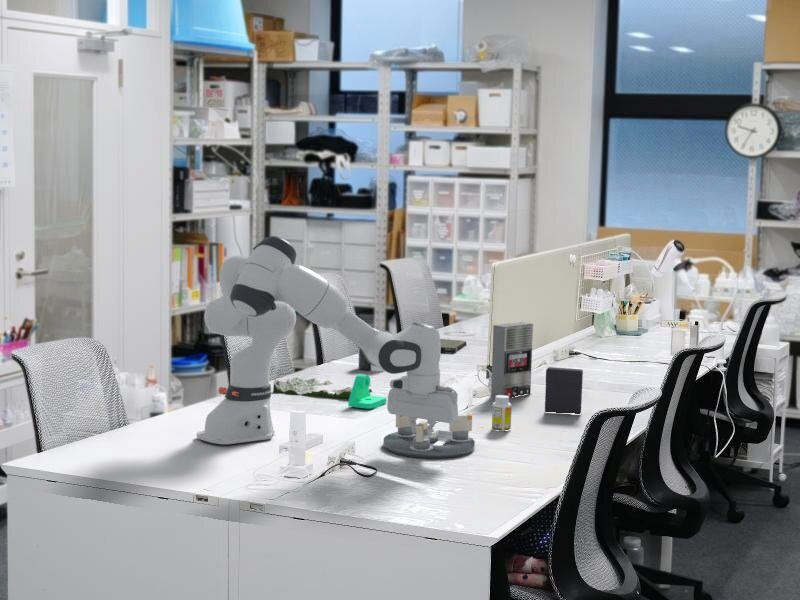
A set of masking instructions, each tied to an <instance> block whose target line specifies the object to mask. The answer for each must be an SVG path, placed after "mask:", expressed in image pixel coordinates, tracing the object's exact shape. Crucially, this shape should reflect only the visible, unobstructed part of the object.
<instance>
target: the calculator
mask: <svg viewBox="0 0 800 600" xmlns="http://www.w3.org/2000/svg"><path fill="white" fill-rule="evenodd" d="M583 376H584V371H583V369H581V368H567V367H551V366H548V367H547V368H546V369H545V393H544V394H545V397H544V413H545V412H556V413H575V414H580V413H581V414H582V402H583V401H582V396H583V380H584V379H583Z"/></svg>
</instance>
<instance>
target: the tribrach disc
mask: <svg viewBox="0 0 800 600" xmlns="http://www.w3.org/2000/svg"><path fill="white" fill-rule="evenodd" d="M414 438H416V434H412V435H400V434H398V431H396V432H392V433H389V434H387V435H386V436H384V437H383V443H382V444H383V445H382V446H383V449H384V450H385V451H387V452H388V453H390V454H393V455H396V456H400V457H406V458H411V459H421V460H422V459H423V460H424V459H425V460H444V459H445V460H446V459H447V460H448V459H455V458H461V457H465V456H468V455H470V453H471V454H473V453H474V451H475V440H474V439H473V438H472V437H471V436H469V435H468V439H465V440H457V439H453V438H452V432H451V431H449V430H437V429H434V428H432V435H431V436H427V438H428V439H430V448H427V449H418V448H414V447H413V439H414Z"/></svg>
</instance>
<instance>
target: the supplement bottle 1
mask: <svg viewBox="0 0 800 600" xmlns="http://www.w3.org/2000/svg"><path fill="white" fill-rule="evenodd" d="M357 367H358V370H359V371H364V372H372V371H371V364H370V363H369V362H368V361H367V360H366V359H365V357H364V355H363V353H362V351H361V350H360V348H359V349H358V366H357Z"/></svg>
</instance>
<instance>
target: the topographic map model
mask: <svg viewBox="0 0 800 600" xmlns="http://www.w3.org/2000/svg"><path fill="white" fill-rule="evenodd" d="M330 385H334V383H333V382H332V381H330V380H325V381H324V382H321V381H319V380H318V379H316V378H309V379H304V378H299V377H293V378H292V379H291V380H290V379H289V378H288V379H287V380H286V381H281V380H277V379H274V381H273V389H272V393H273V394H284V395H293V396H295V395H296V396H304V397H305V396H306V397H313V398H314V397H315V398H322V399H323V398H325V399H334V400H336V399H337V400H346V401H349V398H350V394H351V391H352V388H353V387H350V386H347V387H345V388H343V389H332V390H331V392H329V391H328V390H327V389H321V390H318V391H316V390H317V389H318V388H319V387H322V386H330ZM317 386H318V387H317ZM369 387H372V384H370V386H369ZM369 391H370V393H372V392H373V391H372V389H371V388H369Z"/></svg>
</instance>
